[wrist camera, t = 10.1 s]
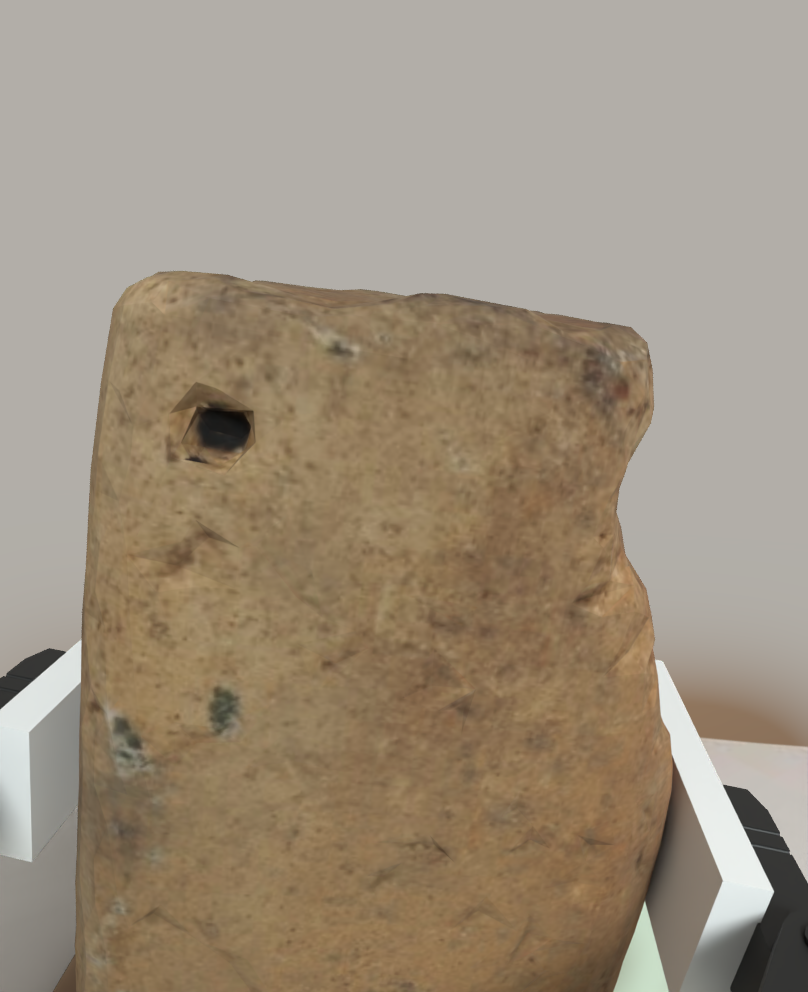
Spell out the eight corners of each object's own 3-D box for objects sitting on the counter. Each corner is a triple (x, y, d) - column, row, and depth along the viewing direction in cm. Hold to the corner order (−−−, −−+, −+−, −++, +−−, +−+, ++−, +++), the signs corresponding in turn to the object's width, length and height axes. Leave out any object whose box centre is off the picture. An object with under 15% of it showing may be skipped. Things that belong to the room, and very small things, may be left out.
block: (39, 1277, 13) (12, 225, 7) (157, 931, 21) (193, 250, 14) (559, 1298, 14) (924, 372, 8) (499, 958, 21) (671, 327, 15)
